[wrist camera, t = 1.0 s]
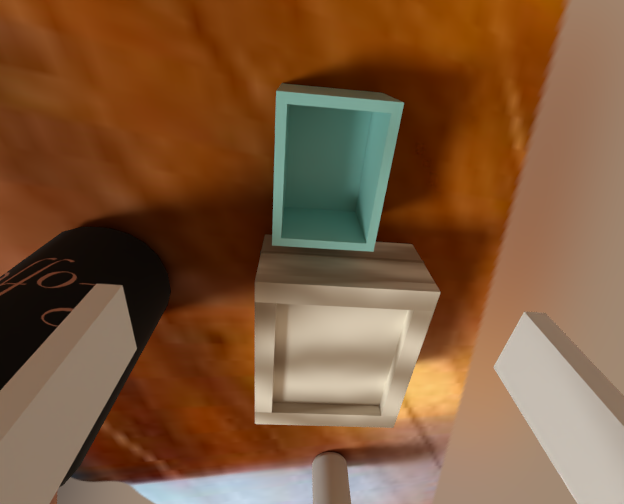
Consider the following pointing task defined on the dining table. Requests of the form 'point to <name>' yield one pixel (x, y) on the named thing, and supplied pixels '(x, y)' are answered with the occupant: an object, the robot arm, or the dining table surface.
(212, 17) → the dining table surface
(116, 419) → the dining table surface
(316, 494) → the beverage can
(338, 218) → the teal crate
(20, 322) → the coffee jar
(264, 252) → the beige crate
